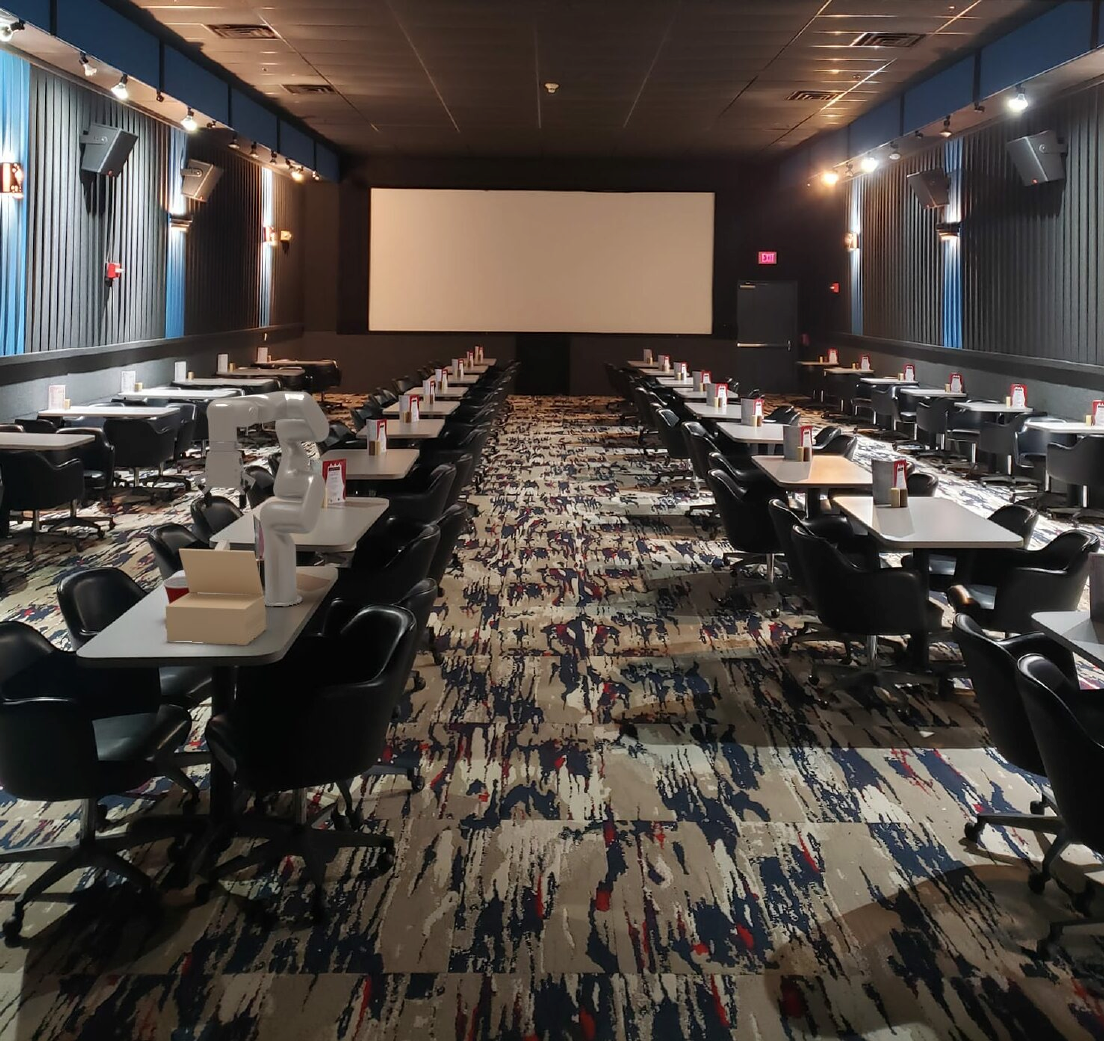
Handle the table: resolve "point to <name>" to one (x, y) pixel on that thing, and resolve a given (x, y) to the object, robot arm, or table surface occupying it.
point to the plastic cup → (176, 588)
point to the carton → (216, 618)
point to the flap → (221, 570)
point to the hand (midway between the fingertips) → (225, 507)
